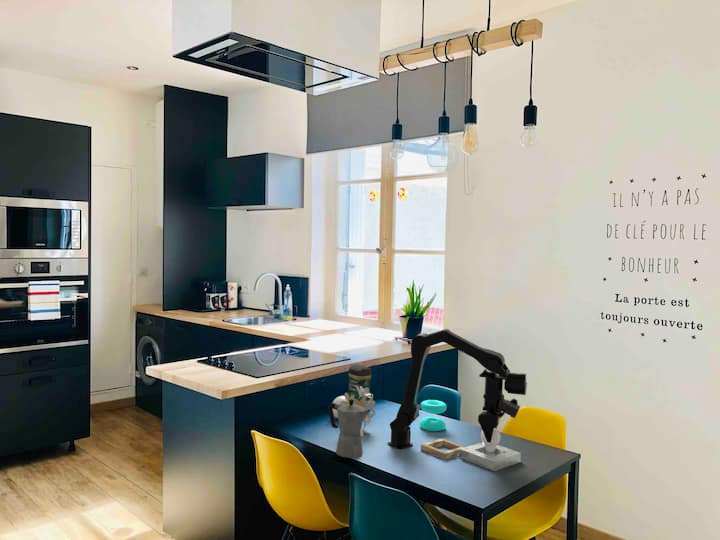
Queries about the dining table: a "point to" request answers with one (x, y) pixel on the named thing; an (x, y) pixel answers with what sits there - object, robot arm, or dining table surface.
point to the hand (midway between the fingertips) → (491, 438)
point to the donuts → (433, 422)
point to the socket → (498, 461)
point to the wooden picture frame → (432, 449)
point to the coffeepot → (348, 428)
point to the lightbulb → (494, 441)
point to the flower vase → (345, 401)
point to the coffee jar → (359, 380)
